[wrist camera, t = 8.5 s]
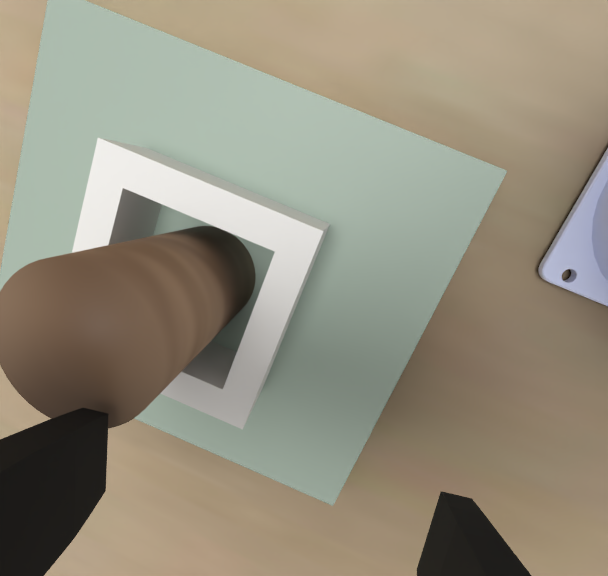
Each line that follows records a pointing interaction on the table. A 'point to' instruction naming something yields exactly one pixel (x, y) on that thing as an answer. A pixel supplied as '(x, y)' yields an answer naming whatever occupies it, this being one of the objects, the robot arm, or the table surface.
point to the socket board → (249, 230)
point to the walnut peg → (119, 319)
